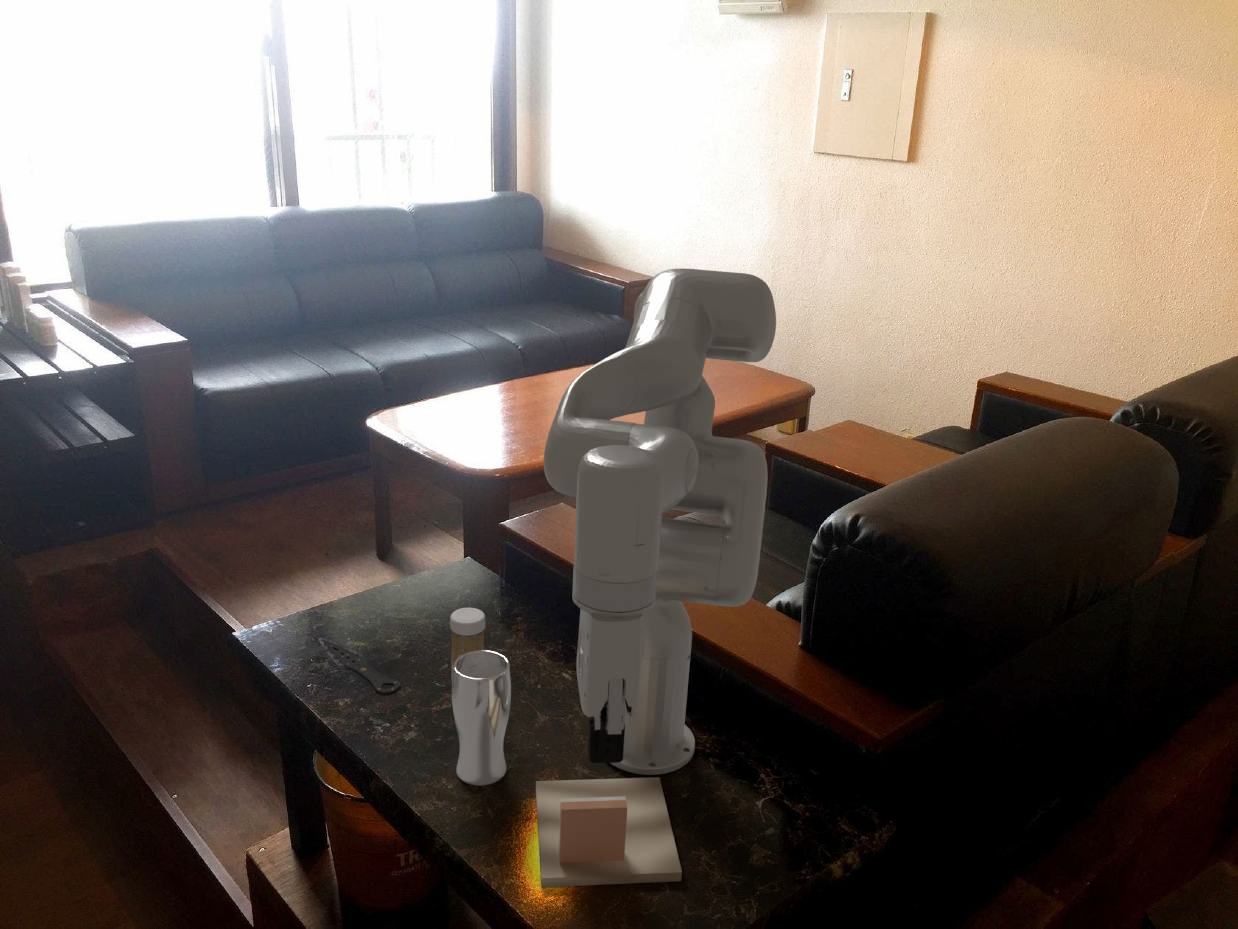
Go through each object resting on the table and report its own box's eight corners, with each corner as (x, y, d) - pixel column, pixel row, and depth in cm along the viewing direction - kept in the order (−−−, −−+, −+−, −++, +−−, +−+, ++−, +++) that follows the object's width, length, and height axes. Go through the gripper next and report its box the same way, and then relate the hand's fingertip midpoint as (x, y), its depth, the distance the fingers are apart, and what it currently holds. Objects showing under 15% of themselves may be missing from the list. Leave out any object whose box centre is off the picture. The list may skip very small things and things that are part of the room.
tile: (558, 851, 111) (560, 798, 109) (622, 849, 112) (625, 796, 110) (559, 863, 110) (561, 809, 107) (624, 860, 110) (627, 807, 108)
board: (535, 789, 123) (535, 781, 122) (658, 785, 124) (659, 777, 124) (541, 887, 108) (541, 878, 107) (681, 881, 110) (681, 872, 109)
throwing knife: (380, 699, 139) (380, 696, 139) (304, 643, 152) (303, 639, 152) (407, 688, 142) (407, 684, 142) (330, 633, 155) (329, 630, 155)
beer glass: (456, 792, 121) (455, 683, 116) (449, 756, 128) (448, 652, 123) (514, 784, 123) (516, 677, 118) (504, 750, 130) (506, 646, 124)
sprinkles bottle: (452, 692, 141) (451, 606, 136) (485, 692, 142) (485, 606, 137) (450, 711, 137) (449, 623, 132) (484, 711, 137) (484, 623, 133)
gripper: (567, 549, 98) (560, 714, 104) (579, 624, 84) (571, 810, 90) (644, 549, 98) (634, 712, 105) (669, 624, 84) (655, 807, 91)
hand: (605, 757), depth 97 cm, fingers closed
